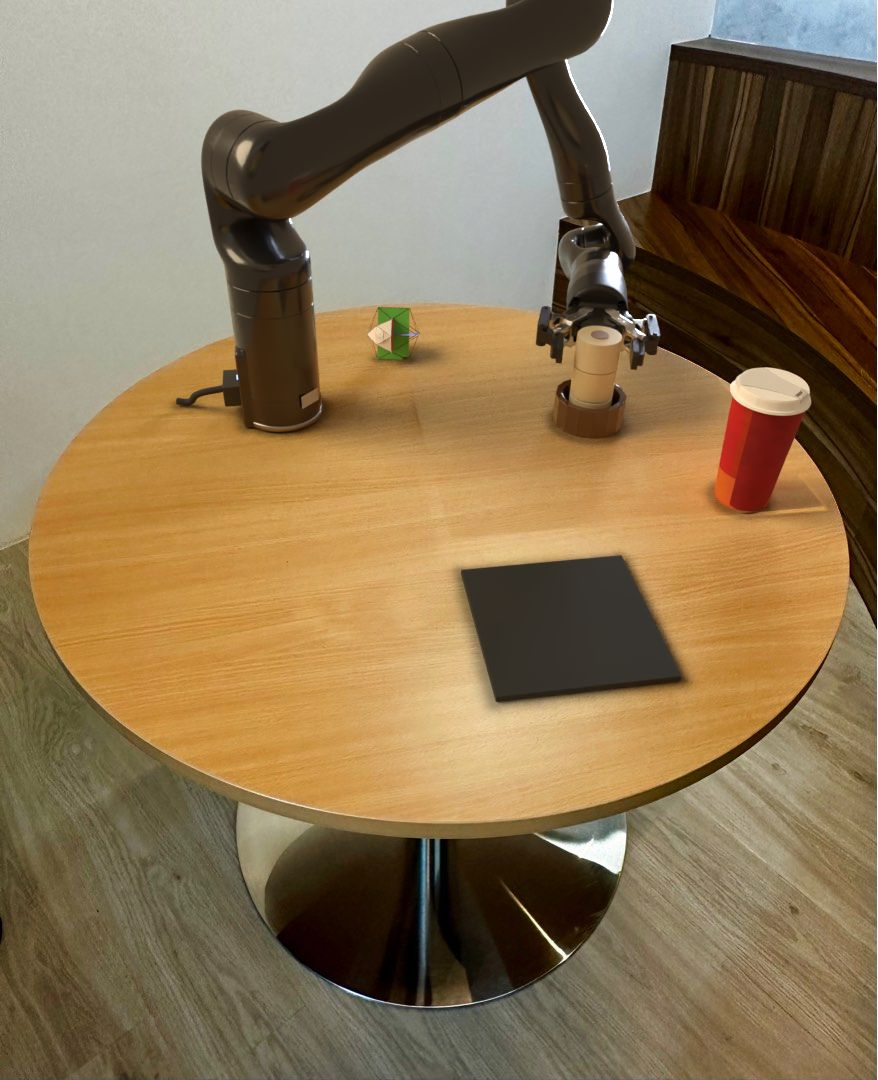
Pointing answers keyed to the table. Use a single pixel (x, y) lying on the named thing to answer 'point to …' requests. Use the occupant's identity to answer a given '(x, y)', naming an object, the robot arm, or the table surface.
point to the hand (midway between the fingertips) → (597, 359)
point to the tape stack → (595, 367)
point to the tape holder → (588, 414)
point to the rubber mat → (565, 628)
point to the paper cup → (759, 435)
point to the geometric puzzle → (392, 333)
